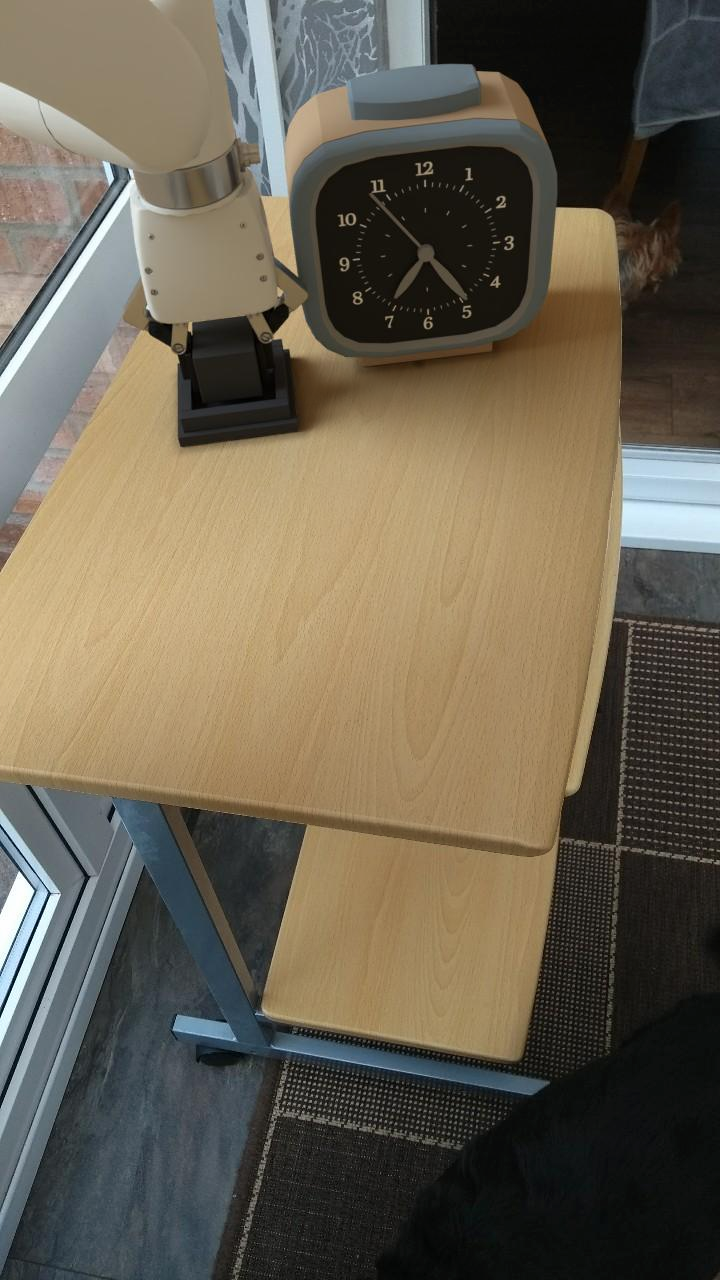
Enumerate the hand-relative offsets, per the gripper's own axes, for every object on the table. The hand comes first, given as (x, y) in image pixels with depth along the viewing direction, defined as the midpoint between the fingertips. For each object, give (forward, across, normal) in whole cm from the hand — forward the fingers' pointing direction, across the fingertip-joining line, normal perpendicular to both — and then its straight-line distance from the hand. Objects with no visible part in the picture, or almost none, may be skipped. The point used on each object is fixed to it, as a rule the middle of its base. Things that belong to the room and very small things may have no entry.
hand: (231, 377), depth 86 cm
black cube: (0, 0, 0) cm, 0 cm away
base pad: (+3, 0, 0) cm, 3 cm away
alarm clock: (+3, -17, -6) cm, 18 cm away
